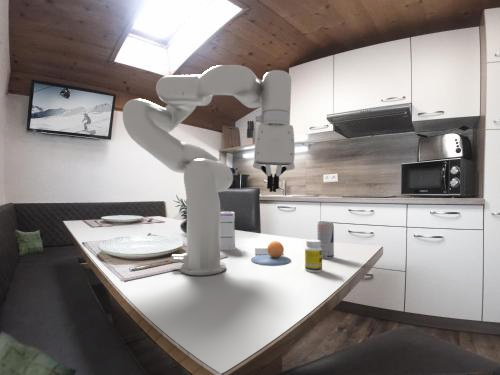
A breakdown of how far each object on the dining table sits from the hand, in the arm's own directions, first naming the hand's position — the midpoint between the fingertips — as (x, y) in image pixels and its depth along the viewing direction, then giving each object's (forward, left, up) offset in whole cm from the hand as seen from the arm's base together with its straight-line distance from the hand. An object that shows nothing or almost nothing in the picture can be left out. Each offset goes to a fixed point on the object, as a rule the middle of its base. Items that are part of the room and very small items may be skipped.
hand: (272, 191), depth 67 cm
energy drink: (+20, +22, -22) cm, 37 cm away
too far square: (+1, +30, -22) cm, 37 cm away
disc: (+1, +18, -22) cm, 29 cm away
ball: (+3, +21, -20) cm, 29 cm away
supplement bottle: (+12, +7, -22) cm, 26 cm away
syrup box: (-15, +35, -22) cm, 44 cm away
